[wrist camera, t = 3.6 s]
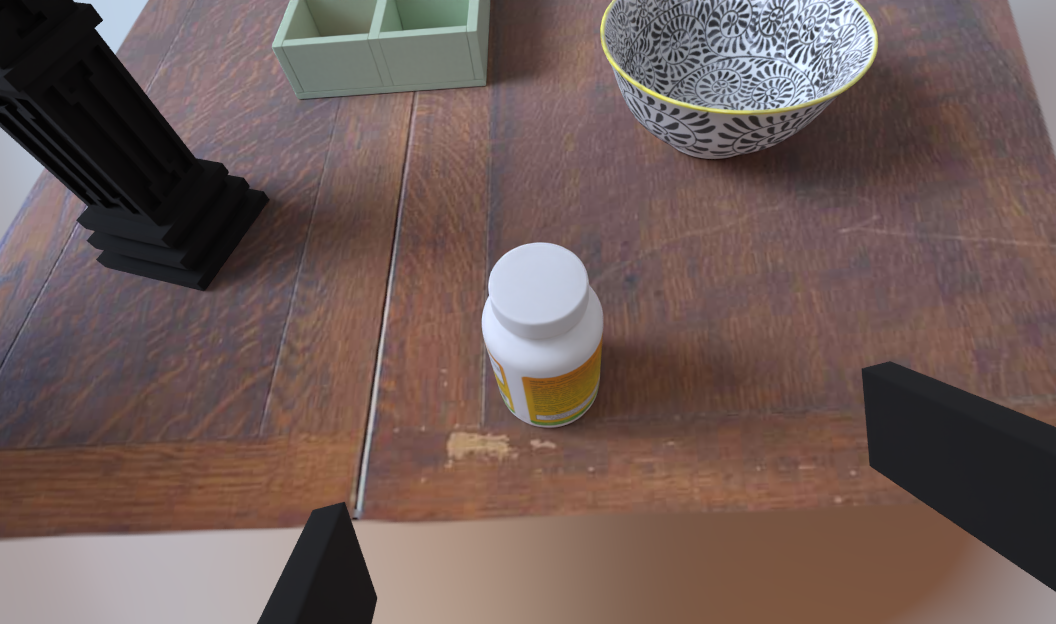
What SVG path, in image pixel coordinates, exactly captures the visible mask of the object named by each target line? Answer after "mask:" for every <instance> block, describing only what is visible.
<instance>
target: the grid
mask: <svg viewBox="0 0 1056 624" xmlns="http://www.w3.org/2000/svg"><path fill="white" fill-rule="evenodd" d="M489 18H490V0H290V2H289V4H288V7H287V10H286V12H285V15H284V17H283V20H282V22H281V25H280V27H279V30H278V32H277V35H276V37H275V40H274V42H273V45H272V49H273V51H274V53H275V55H276V57H277V58H278V60H279V62H280V64H281V66H282V68H283V70H284V72H285V74H286V76H287V78H288V80H289V82H290V84H291V86H292V88H293V90H294V92H295V94H296V96H297V98H298V99H309V98H323V97H337V96H351V95H364V94H378V93H392V92H406V91H420V90H434V89H447V88H461V87H475V86H486V76H487V57H488V37H489Z"/></svg>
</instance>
